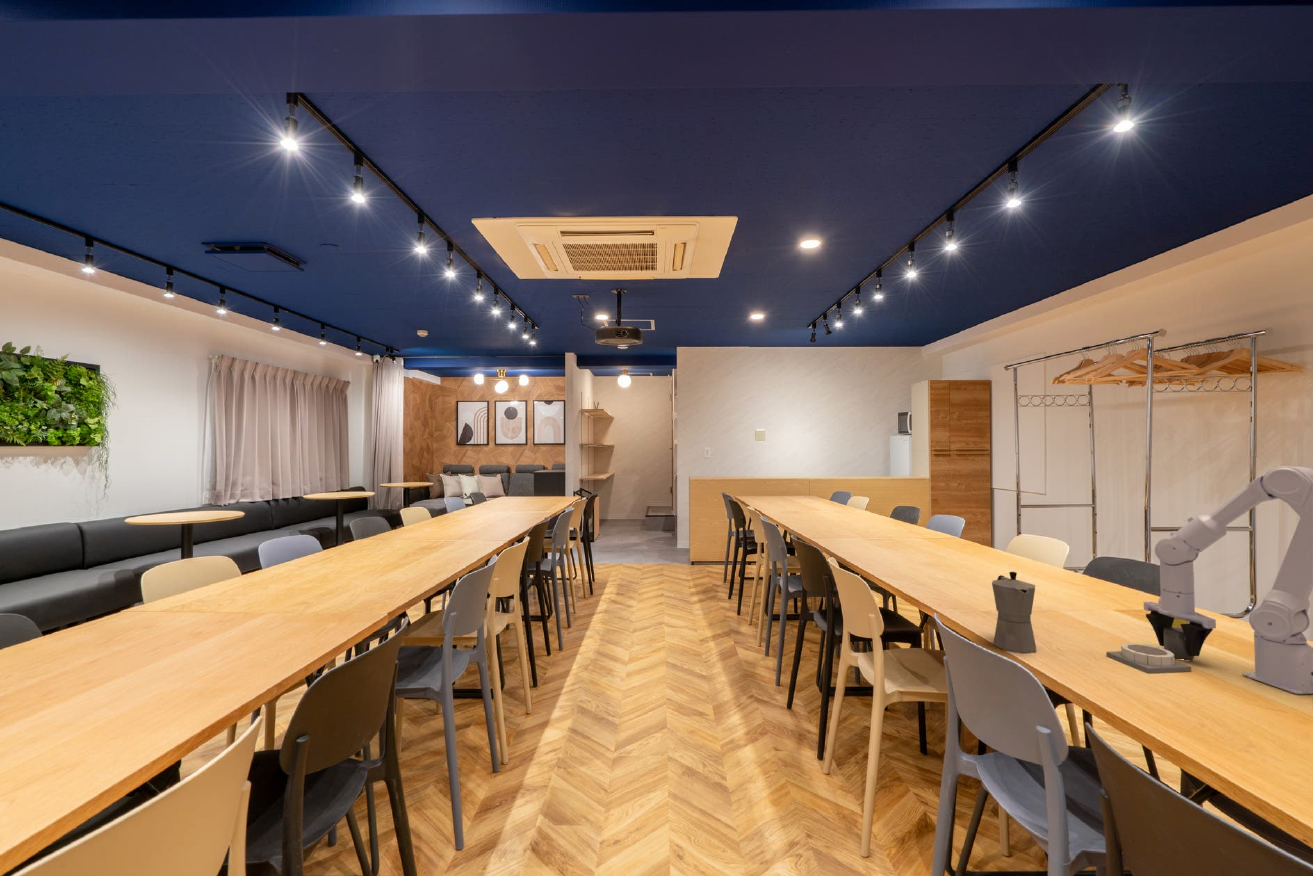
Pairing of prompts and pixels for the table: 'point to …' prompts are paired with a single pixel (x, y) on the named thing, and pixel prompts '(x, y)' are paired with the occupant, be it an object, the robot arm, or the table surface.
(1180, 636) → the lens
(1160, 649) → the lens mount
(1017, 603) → the coffeepot
